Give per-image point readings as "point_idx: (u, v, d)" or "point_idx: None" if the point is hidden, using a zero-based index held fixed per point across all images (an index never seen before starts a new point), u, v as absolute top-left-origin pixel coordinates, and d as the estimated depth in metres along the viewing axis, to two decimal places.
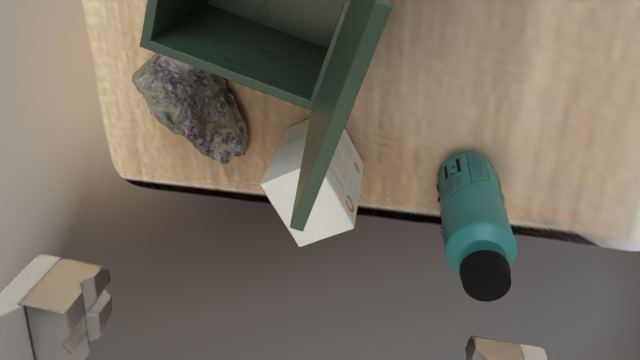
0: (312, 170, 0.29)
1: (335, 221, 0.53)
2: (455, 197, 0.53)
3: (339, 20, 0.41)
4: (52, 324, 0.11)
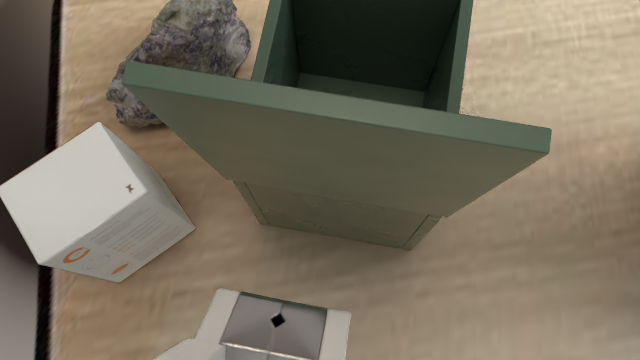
0: (250, 81, 0.17)
1: (49, 234, 0.35)
2: None
3: None
4: None
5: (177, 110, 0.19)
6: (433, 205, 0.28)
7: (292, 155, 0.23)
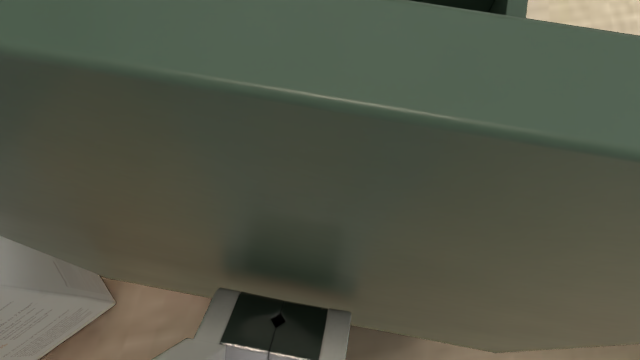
0: None
1: None
2: None
3: None
4: None
5: None
6: (484, 341, 0.15)
7: (170, 246, 0.09)
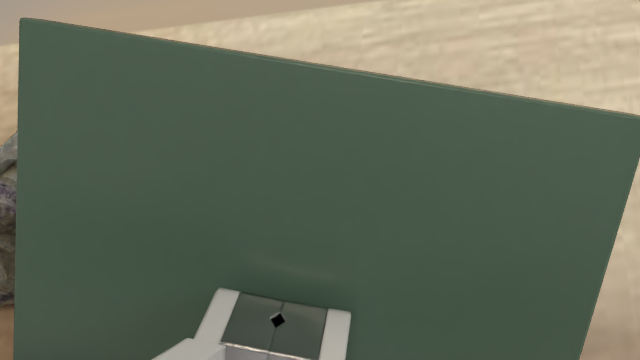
0: (210, 47, 0.12)
1: None
2: None
3: None
4: None
5: (69, 121, 0.12)
6: None
7: None
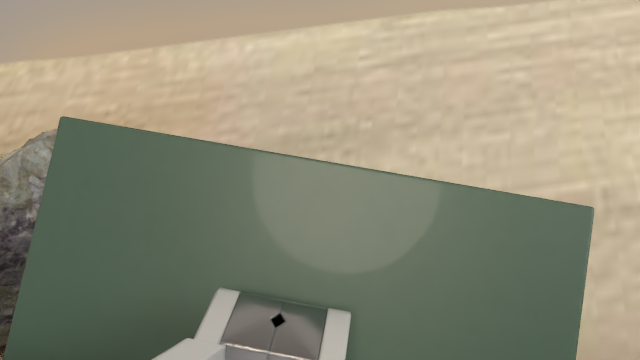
0: None
1: None
2: None
3: None
4: None
5: (88, 204, 0.13)
6: None
7: None
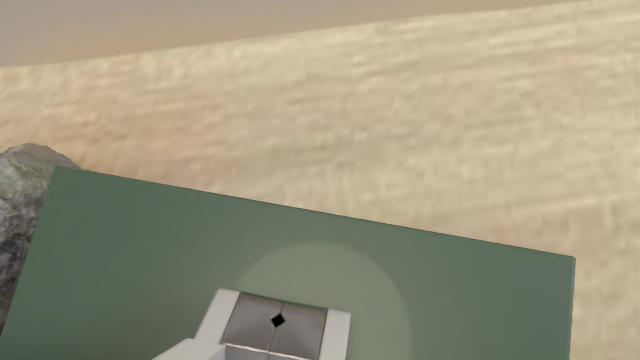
0: None
1: None
2: None
3: None
4: None
5: (76, 251, 0.13)
6: None
7: None
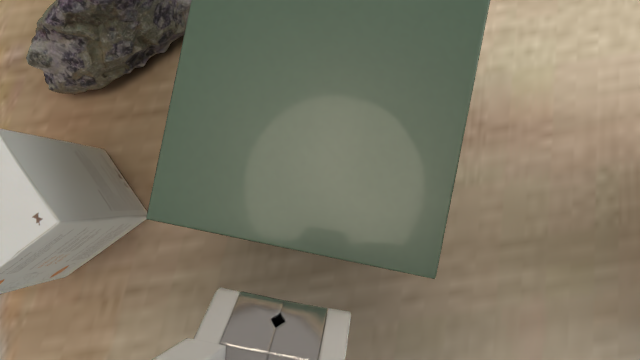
0: None
1: None
2: None
3: None
4: None
5: None
6: (420, 195, 0.24)
7: (295, 26, 0.25)
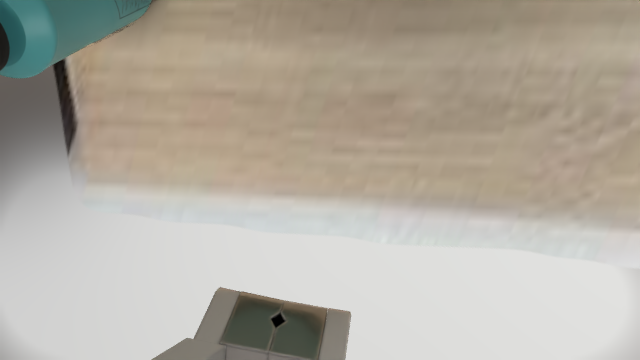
0: None
1: None
2: None
3: None
4: None
5: None
6: None
7: None
